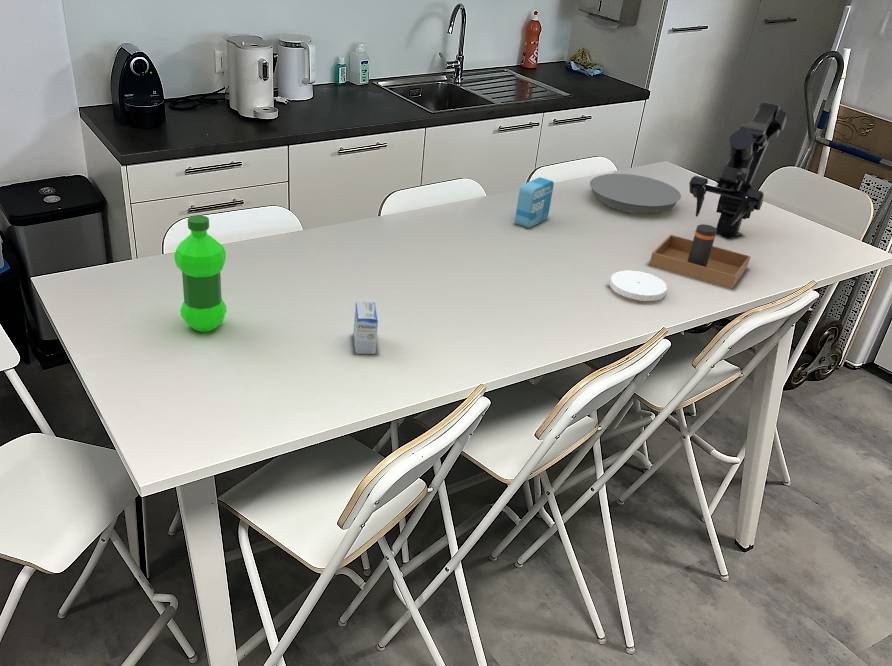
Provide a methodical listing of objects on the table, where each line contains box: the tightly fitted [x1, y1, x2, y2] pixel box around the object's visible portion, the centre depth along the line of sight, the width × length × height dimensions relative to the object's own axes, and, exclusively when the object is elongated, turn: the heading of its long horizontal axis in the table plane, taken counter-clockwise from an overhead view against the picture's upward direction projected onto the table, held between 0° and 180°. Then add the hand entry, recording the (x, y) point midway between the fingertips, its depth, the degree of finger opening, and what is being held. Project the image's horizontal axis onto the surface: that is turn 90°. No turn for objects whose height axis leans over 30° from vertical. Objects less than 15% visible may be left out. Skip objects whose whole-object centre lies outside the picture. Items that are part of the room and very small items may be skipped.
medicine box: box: [352, 301, 379, 355], centre depth 182 cm, size 8×4×9 cm, turn 5°
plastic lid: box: [608, 269, 668, 302], centre depth 215 cm, size 14×14×2 cm
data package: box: [514, 176, 555, 229], centre depth 247 cm, size 12×4×12 cm, turn 141°
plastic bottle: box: [174, 214, 227, 333], centre depth 181 cm, size 10×10×25 cm
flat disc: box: [589, 173, 682, 214], centre depth 268 cm, size 28×28×4 cm
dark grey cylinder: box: [687, 224, 717, 267], centre depth 225 cm, size 5×5×12 cm
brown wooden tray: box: [649, 234, 751, 290], centre depth 229 cm, size 16×22×4 cm
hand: (713, 220), depth 226 cm, fingers open, 9 cm apart
